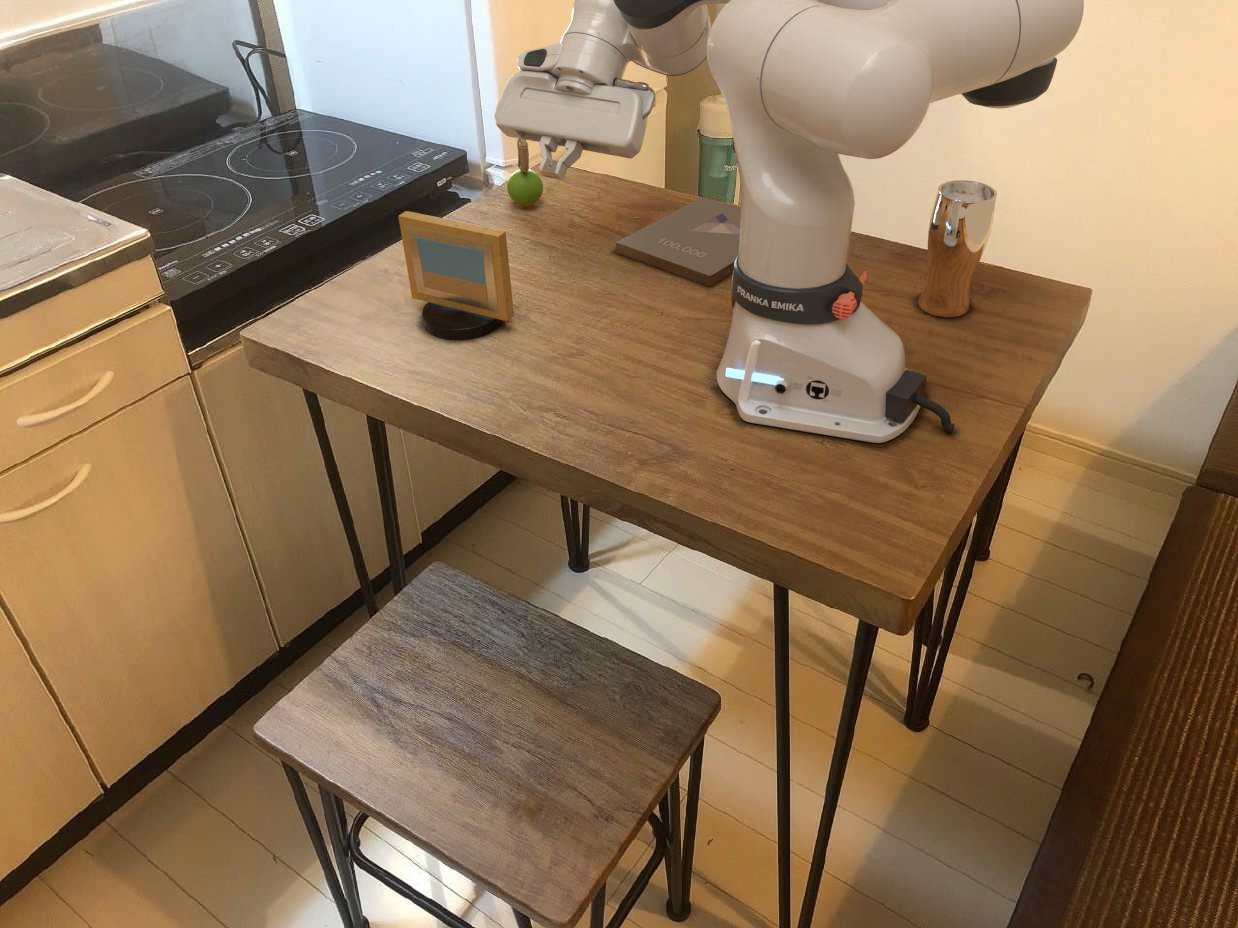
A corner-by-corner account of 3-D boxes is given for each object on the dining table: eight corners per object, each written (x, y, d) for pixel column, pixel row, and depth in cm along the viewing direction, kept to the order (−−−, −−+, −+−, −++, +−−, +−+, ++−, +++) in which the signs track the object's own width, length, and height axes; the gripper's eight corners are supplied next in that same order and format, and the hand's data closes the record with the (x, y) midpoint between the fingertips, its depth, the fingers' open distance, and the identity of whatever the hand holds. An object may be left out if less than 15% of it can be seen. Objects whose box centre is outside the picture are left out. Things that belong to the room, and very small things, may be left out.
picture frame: (514, 315, 118) (505, 231, 111) (506, 322, 116) (497, 237, 110) (419, 292, 123) (406, 210, 116) (411, 299, 121) (397, 216, 115)
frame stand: (519, 310, 122) (518, 300, 121) (473, 347, 115) (472, 336, 114) (455, 293, 126) (453, 283, 125) (407, 328, 119) (405, 317, 118)
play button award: (615, 242, 134) (702, 197, 146) (616, 252, 135) (702, 206, 146) (710, 276, 125) (794, 225, 137) (709, 286, 126) (793, 235, 138)
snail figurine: (511, 216, 145) (504, 136, 138) (506, 199, 150) (499, 121, 143) (547, 212, 146) (542, 133, 138) (541, 195, 151) (536, 118, 143)
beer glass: (981, 303, 121) (1008, 188, 112) (957, 325, 117) (983, 208, 108) (929, 287, 125) (952, 174, 116) (904, 308, 121) (925, 193, 112)
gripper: (667, 98, 121) (632, 201, 121) (530, 78, 129) (496, 174, 128) (651, 71, 115) (614, 179, 115) (508, 51, 123) (472, 152, 123)
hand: (550, 176), depth 122 cm, fingers closed
